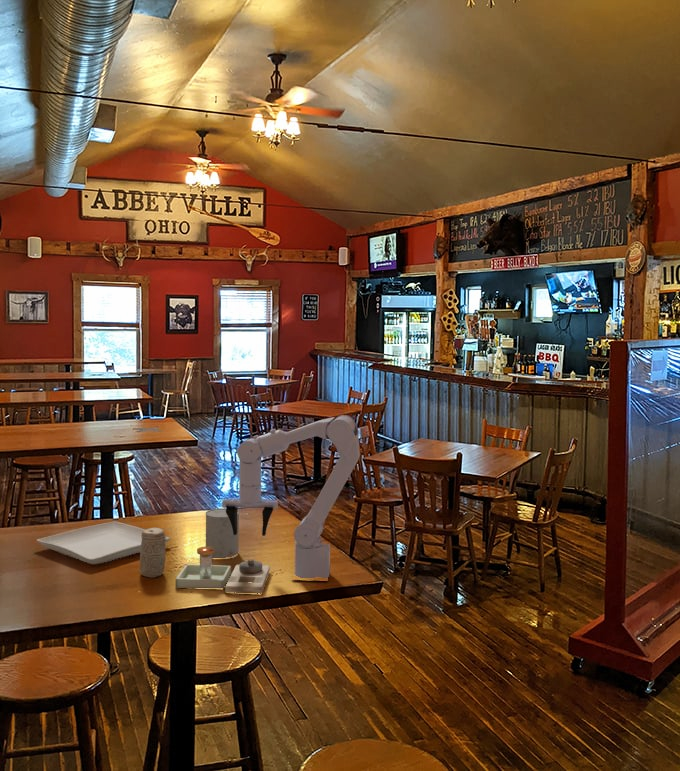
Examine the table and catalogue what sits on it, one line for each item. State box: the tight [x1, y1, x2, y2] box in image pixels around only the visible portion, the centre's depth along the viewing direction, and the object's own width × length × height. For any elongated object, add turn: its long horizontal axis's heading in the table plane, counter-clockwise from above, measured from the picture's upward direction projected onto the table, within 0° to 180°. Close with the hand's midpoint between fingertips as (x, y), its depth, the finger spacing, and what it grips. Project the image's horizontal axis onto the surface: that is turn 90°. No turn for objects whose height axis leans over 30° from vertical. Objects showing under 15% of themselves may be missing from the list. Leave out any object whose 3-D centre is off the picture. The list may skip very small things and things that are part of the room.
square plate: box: [36, 520, 171, 565], centre depth 214 cm, size 27×27×4 cm
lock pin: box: [196, 546, 214, 579], centre depth 189 cm, size 4×4×8 cm
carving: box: [139, 527, 167, 579], centre depth 193 cm, size 6×8×12 cm
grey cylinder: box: [205, 507, 240, 558], centre depth 211 cm, size 10×10×12 cm
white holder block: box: [224, 558, 271, 594], centre depth 189 cm, size 9×16×5 cm, turn 178°
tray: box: [175, 563, 232, 590], centre depth 189 cm, size 12×11×2 cm
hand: (249, 534), depth 196 cm, fingers open, 7 cm apart
